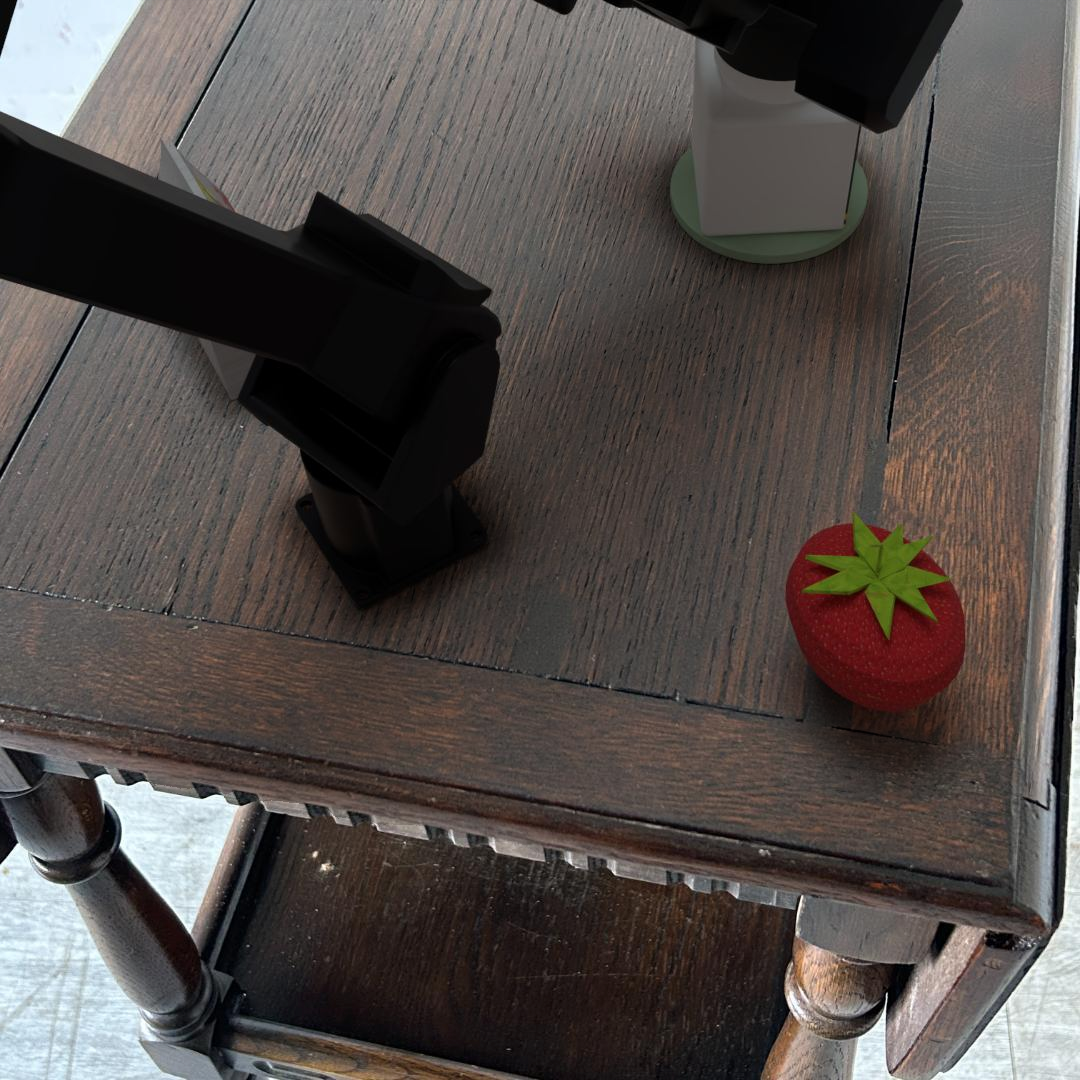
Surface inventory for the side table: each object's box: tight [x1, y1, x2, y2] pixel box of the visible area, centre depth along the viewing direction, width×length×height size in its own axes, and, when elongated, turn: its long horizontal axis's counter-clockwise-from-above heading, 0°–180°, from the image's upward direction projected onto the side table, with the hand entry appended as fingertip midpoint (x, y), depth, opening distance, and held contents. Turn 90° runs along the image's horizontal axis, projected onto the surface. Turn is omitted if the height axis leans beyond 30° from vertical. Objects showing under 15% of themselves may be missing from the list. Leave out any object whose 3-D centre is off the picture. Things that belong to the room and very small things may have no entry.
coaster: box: [669, 146, 869, 265], centre depth 72 cm, size 10×10×1 cm
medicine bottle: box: [690, 7, 862, 236], centre depth 67 cm, size 7×7×12 cm
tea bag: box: [157, 135, 256, 401], centre depth 64 cm, size 4×7×10 cm, turn 28°
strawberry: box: [785, 511, 966, 713], centre depth 52 cm, size 6×8×10 cm
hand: (800, 28), depth 65 cm, fingers open, 9 cm apart
